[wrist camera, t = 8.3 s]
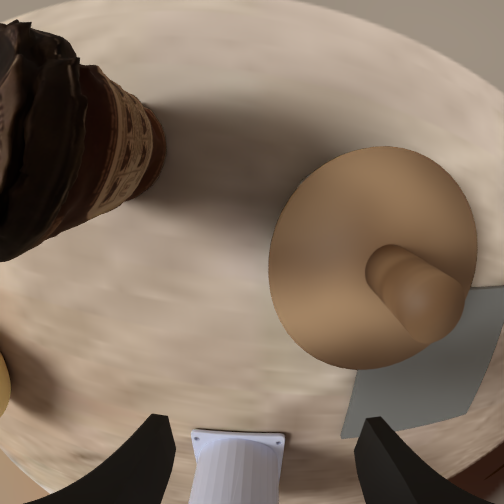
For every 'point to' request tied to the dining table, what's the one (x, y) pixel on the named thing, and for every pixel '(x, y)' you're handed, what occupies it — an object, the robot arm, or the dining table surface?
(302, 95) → the dining table surface
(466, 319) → the plate
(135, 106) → the coffee cup
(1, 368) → the sculpture
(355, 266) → the lid
